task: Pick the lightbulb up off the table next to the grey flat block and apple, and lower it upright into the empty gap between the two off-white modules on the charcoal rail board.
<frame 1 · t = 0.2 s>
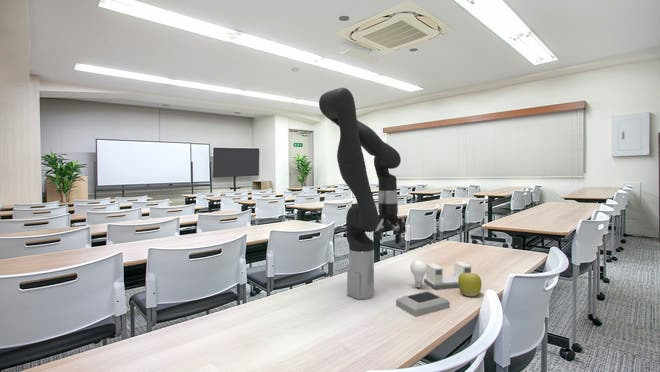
hand: (388, 241, 127), 18 cm above the table, tool pointing down, fingers open, 8 cm apart
lightbulb: (418, 288, 127), on the table
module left: (434, 280, 129), resting on rail board
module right: (462, 278, 131), resting on rail board
grey flat block: (422, 308, 109), on the table
apple: (469, 295, 119), on the table
rail board: (448, 284, 130), on the table
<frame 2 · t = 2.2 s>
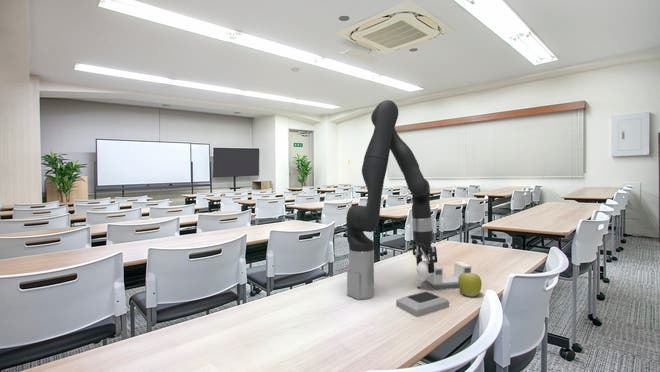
hand: (425, 269, 126), 7 cm above the table, tool pointing down, fingers open, 8 cm apart
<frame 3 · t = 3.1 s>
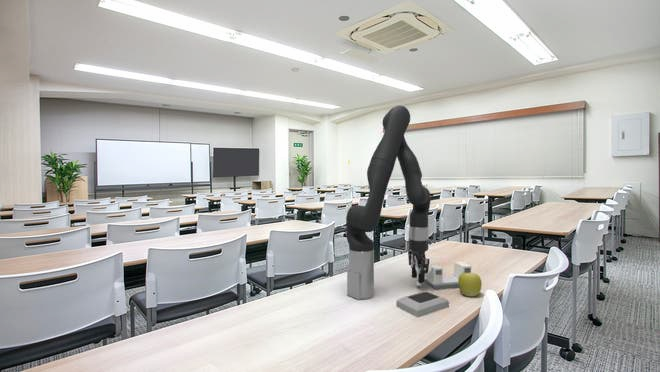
hand: (417, 280, 127), 3 cm above the table, tool pointing down, fingers closed on lightbulb, 5 cm apart
lightbulb: (418, 287, 126), on the table, touching gripper
everything else where it was.
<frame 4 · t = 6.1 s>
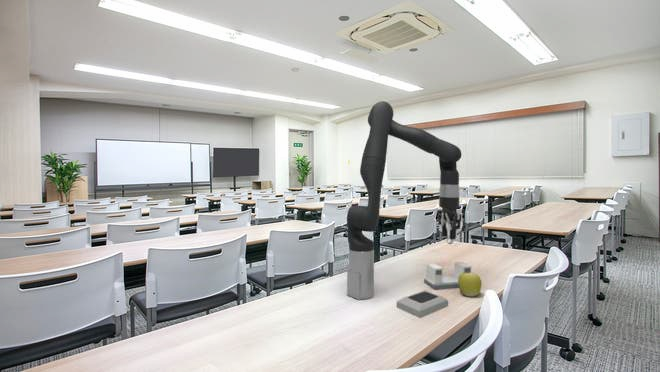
hand: (448, 237, 129), 19 cm above the table, tool pointing down, fingers closed on lightbulb, 5 cm apart
lightbulb: (449, 244, 129), point 16 cm above the table, touching gripper
everything else where it was.
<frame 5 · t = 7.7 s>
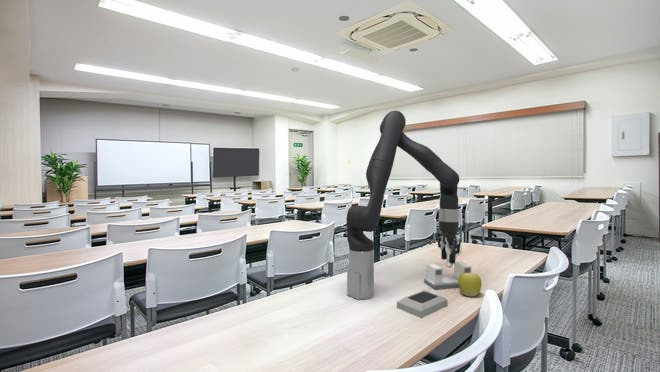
hand: (448, 261, 130), 10 cm above the table, tool pointing down, fingers closed on lightbulb, 5 cm apart
lightbulb: (448, 267, 130), point 7 cm above the table, touching gripper
everything else where it was.
when the fingers open (6 cm above the table, at t = 9.0 s): lightbulb stays where it is, resting on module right, rail board.
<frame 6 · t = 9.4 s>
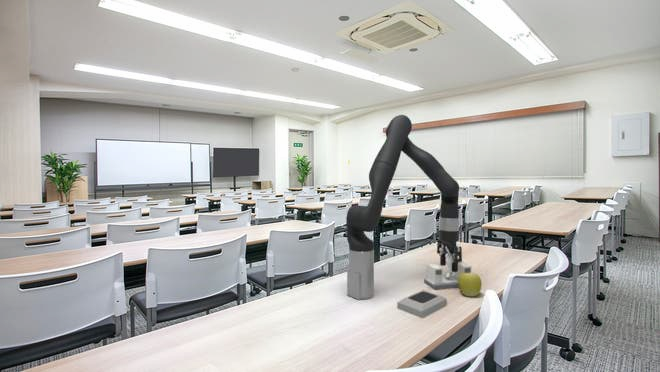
hand: (448, 268, 129), 7 cm above the table, tool pointing down, fingers open, 8 cm apart
lightbulb: (447, 278, 130), point 2 cm above the table, touching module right, rail board
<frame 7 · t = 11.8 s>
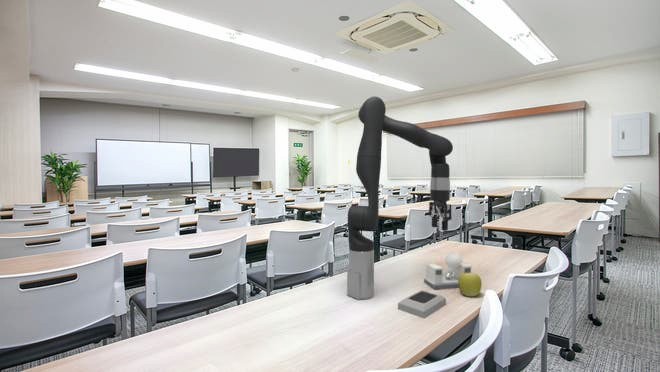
hand: (439, 228, 130), 23 cm above the table, tool pointing down, fingers open, 8 cm apart
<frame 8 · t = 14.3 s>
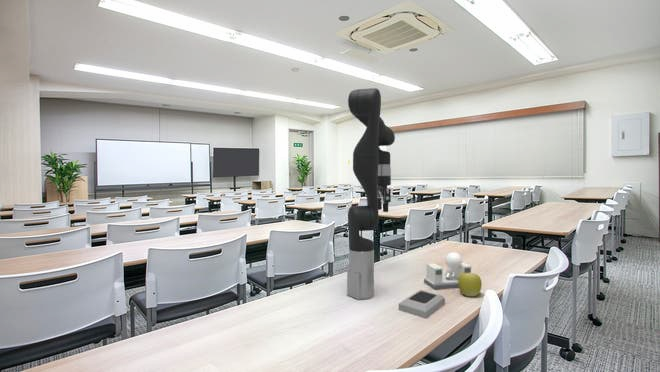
hand: (382, 210, 144), 28 cm above the table, tool pointing down, fingers open, 8 cm apart
at the end: lightbulb 0.4 cm off-centre on the rail board, point 2.3 cm above the rail board's base; lightbulb tilted 19°; the gripper is holding nothing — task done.
